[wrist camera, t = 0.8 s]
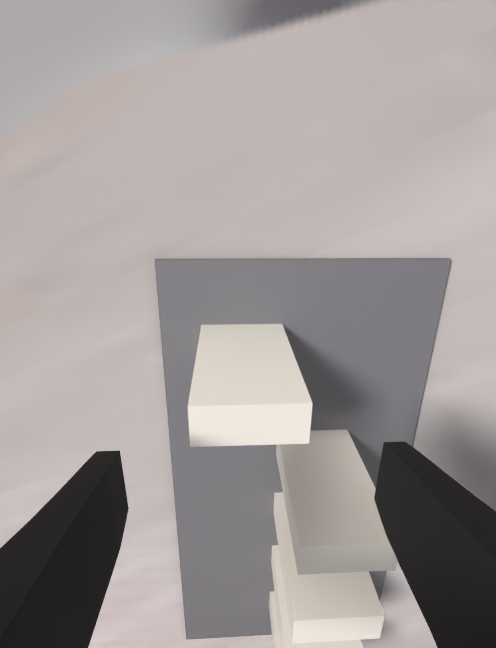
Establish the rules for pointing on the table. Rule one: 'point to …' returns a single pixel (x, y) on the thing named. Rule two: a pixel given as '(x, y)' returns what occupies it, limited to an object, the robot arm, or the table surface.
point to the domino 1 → (247, 388)
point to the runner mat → (323, 387)
